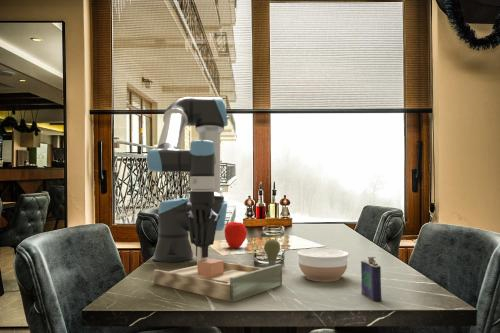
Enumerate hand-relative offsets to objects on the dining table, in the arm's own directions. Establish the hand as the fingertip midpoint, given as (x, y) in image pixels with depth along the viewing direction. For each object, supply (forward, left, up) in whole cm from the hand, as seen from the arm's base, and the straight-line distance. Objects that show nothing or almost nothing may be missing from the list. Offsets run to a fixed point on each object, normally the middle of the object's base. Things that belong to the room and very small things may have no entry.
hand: (201, 267), depth 131 cm
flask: (+48, +15, -4) cm, 50 cm away
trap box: (+6, 0, -4) cm, 7 cm away
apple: (-32, +54, -4) cm, 63 cm away
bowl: (+27, +27, -4) cm, 38 cm away
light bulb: (+6, +29, -4) cm, 30 cm away
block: (+3, 0, -2) cm, 4 cm away
